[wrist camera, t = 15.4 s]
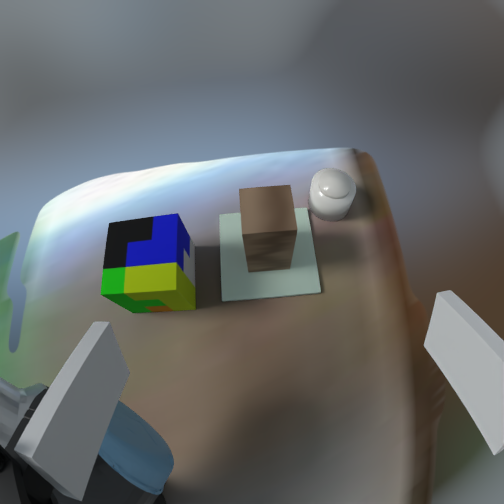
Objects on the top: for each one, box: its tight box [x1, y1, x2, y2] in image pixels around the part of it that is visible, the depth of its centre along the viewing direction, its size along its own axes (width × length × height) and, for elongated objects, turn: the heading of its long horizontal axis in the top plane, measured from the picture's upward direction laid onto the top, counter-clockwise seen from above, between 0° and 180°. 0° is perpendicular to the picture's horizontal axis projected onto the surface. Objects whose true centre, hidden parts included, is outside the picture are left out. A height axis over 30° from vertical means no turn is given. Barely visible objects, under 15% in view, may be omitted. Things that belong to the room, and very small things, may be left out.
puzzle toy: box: [101, 213, 196, 313], centre depth 39 cm, size 10×10×10 cm
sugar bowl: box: [308, 168, 356, 222], centre depth 45 cm, size 7×7×6 cm
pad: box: [219, 208, 321, 302], centre depth 44 cm, size 14×14×1 cm
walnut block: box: [239, 185, 298, 273], centre depth 38 cm, size 6×6×12 cm
